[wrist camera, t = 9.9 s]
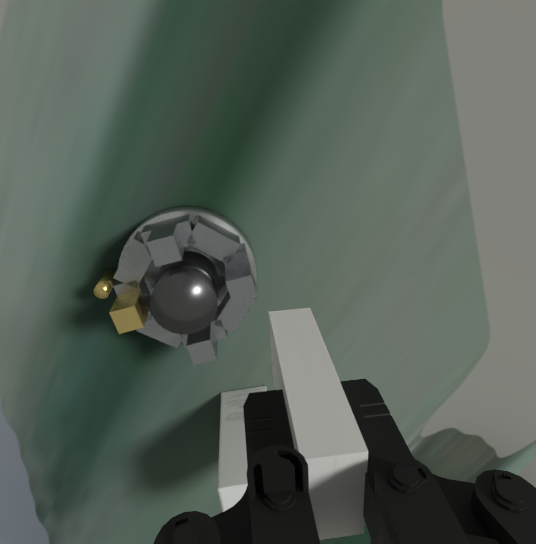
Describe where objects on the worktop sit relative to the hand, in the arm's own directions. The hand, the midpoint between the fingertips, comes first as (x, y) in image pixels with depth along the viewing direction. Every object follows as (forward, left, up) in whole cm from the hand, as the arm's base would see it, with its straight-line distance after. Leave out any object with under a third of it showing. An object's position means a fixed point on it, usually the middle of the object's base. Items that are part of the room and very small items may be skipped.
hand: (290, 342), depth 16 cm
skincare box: (+29, +14, -33) cm, 46 cm away
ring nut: (+12, -1, -30) cm, 32 cm away
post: (+17, -9, -32) cm, 38 cm away
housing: (+12, -1, -32) cm, 35 cm away
